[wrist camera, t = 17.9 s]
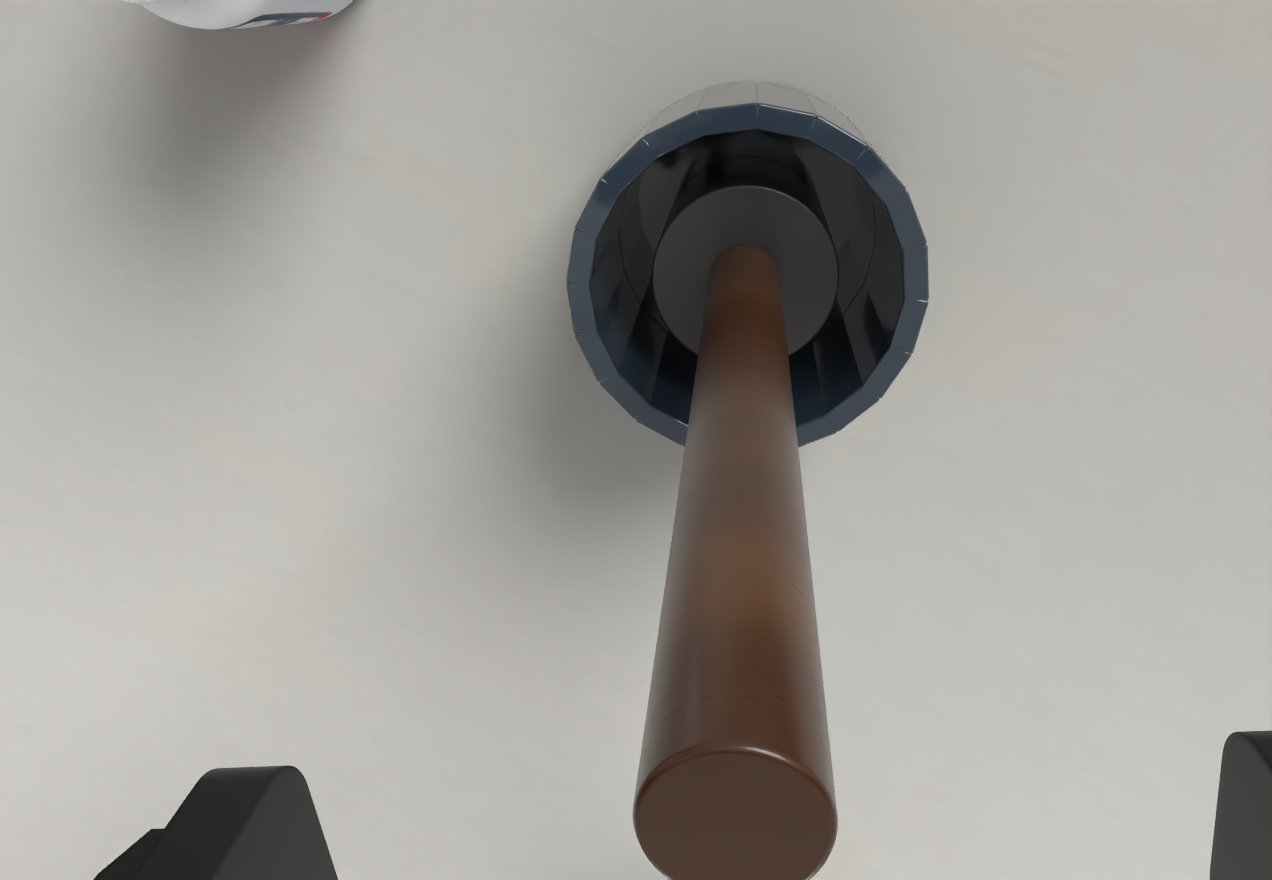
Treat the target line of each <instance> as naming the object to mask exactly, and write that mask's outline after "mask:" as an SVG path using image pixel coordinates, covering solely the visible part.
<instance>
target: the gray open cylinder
mask: <svg viewBox="0 0 1272 880" xmlns="http://www.w3.org/2000/svg"><path fill="white" fill-rule="evenodd" d="M744 156H752V157H761V158H766V159H770V160H773V161H776V162H779V163H781V164H783V165H785V166H787V167H789V168H790V169H792V170H793V171H794V172H796V173H797V174H799V175H800V176H801V177H802V178H803V179H804V180H805V181H806V182H807V183H808V185H809V186H810V187H811V188H812V190H813V191H814V193H815V195H816V196H817V198H818V200H819V202H820V205H821V207H822V210H823V213H824V216H825V218H826V221H827V224H828V227H829V230H830V233H831V236H832V239H833V242H834V245H835V249H836V252H837V256H838V263H839V286H838V293H837V297H836V300H835V304H834V306H833V309H832V311H831V313H830V315H829V317H828V319H827V321H826V322H825V324H824V326H823V327H822V328H821V330H820V331H819V332H818V333H817V335H816V336H815V337H814V338H813V339H812V340H811V341H810V342H809V343H808V344H807V345H805V346H804V347H803V348H801V349H800V350H799V351H797V352H795V353H794V354H792V355H790V356H789V367H790V376H791V386H792V395H793V404H794V414H795V423H796V433H797V442H798V447H801V446H803V445H806V444H809V443H811V442H814V441H816V440H819V439H822V438H824V437H827V436H830V435H832V434H835V433H836V431H840V430H841V429H843V428H844V427H845V426H846V425H848V424H849V423H850V422H852V421H853V420H854V419H855V418H857V417H858V416H859V415H861V414H862V413H863V412H865V411H866V410H867V409H868V408H870V407H871V406H872V405H874V404H875V403H876V402H878V401H879V398H882V397H883V395H884V394H885V392H886V391H887V390H888V388H889V387H890V385H891V384H892V382H893V381H894V380H895V378H896V377H897V375H898V374H899V372H900V371H901V370H902V368H903V367H904V365H905V364H906V363H907V361H908V360H909V358H910V357H911V354H912V353H913V351H914V348H915V344H916V341H917V338H918V335H919V332H920V328H921V325H922V322H923V319H924V315H925V312H926V309H927V306H928V299H929V281H928V247H927V245H926V238H925V236H924V233H923V230H922V228H921V225H920V222H919V220H918V217H917V214H916V212H915V209H914V206H913V204H912V201H911V198H910V196H909V193H908V192H907V190H906V188H905V186H904V185H903V184H902V183H901V181H900V180H899V179H898V178H897V176H896V175H895V174H894V173H893V172H892V170H891V169H890V168H889V167H888V165H887V164H886V163H885V162H884V160H883V159H882V158H881V157H880V155H879V154H878V153H877V152H876V150H875V149H874V148H873V147H872V146H871V145H870V143H869V142H868V141H867V140H866V139H865V137H864V136H863V135H862V134H861V133H860V131H859V130H858V129H857V128H856V127H855V126H854V124H853V123H852V122H851V121H850V120H849V118H847V117H846V116H845V115H844V114H842V113H840V112H839V111H837V110H836V109H834V108H833V107H832V106H830V105H829V104H828V103H826V102H824V101H822V100H820V99H818V98H817V97H815V96H813V95H811V94H809V93H806V92H803V91H801V90H798V89H795V88H792V87H789V86H784V85H779V84H775V83H767V82H753V81H750V82H734V83H728V84H723V85H718V86H713V87H710V88H707V89H704V90H701V91H698V92H696V93H693V94H691V95H689V96H687V97H685V98H683V99H681V100H679V101H677V102H675V103H674V104H672V105H671V106H669V107H667V108H665V109H664V110H663V111H661V112H660V113H659V114H658V115H657V116H656V117H655V118H654V119H653V120H652V121H651V122H649V123H648V124H647V125H646V126H645V127H644V128H643V129H642V131H641V132H640V133H638V134H637V135H636V136H635V137H634V138H633V139H632V140H631V141H630V142H629V144H628V145H627V146H626V147H625V148H624V150H623V151H622V152H621V153H620V155H619V156H618V157H617V158H616V159H615V161H614V162H613V163H612V164H611V166H610V167H609V168H608V169H607V170H606V172H605V173H604V174H603V175H602V177H601V178H600V179H599V181H598V183H597V185H596V187H595V189H594V191H593V193H592V195H591V197H590V199H589V201H588V203H587V205H586V206H585V208H584V210H583V212H582V214H581V216H580V218H579V220H578V222H577V224H576V226H575V230H574V234H573V240H572V247H571V253H570V259H569V266H568V272H567V278H566V281H567V285H566V286H567V292H568V299H569V305H570V311H571V317H572V323H573V329H574V334H575V335H576V336H575V337H576V340H577V342H578V344H579V346H580V348H581V350H582V351H583V353H584V355H585V357H586V359H587V361H588V363H589V365H590V367H591V369H592V371H593V373H594V375H595V377H596V379H597V381H598V382H600V384H601V386H602V387H603V388H604V389H605V390H606V391H607V392H608V393H609V394H610V395H611V396H612V397H613V398H614V399H615V400H616V401H617V402H618V403H619V404H620V405H621V406H622V407H623V408H624V409H625V410H626V411H627V412H628V413H629V414H630V415H631V416H632V417H633V418H634V419H636V421H637V422H639V423H641V424H643V425H645V426H647V427H648V428H650V429H652V430H654V431H656V432H658V433H659V434H661V435H663V436H665V437H667V438H669V439H671V440H672V441H674V442H676V443H678V444H680V445H683V446H685V444H686V437H687V430H688V423H689V416H690V409H691V402H692V395H693V388H694V381H695V374H696V367H697V360H698V355H696V354H695V353H693V352H692V351H690V350H689V349H687V348H686V347H685V346H684V345H682V344H681V343H680V342H679V341H678V340H677V339H676V338H675V337H674V336H673V334H672V333H671V332H670V331H669V329H668V328H667V326H666V325H665V323H664V322H663V320H662V318H661V316H660V314H659V312H658V309H657V306H656V303H655V300H654V295H653V290H652V264H653V259H654V255H655V251H656V248H657V245H658V243H659V240H660V237H661V234H662V232H663V229H664V226H665V224H666V221H667V218H668V216H669V213H670V210H671V207H672V205H673V203H674V201H675V199H676V197H677V196H678V194H679V193H680V191H681V190H682V188H683V187H684V186H685V185H686V184H687V183H688V181H689V180H690V179H692V178H693V177H694V176H695V175H696V174H697V173H699V172H700V171H702V170H703V169H705V168H706V167H708V166H710V165H712V164H714V163H716V162H719V161H722V160H725V159H729V158H734V157H744Z"/></svg>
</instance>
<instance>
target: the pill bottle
mask: <svg viewBox="0 0 1272 880" xmlns="http://www.w3.org/2000/svg"><path fill="white" fill-rule="evenodd" d="M120 1H125V2H131V3H139V4H140V5H142V6H143V7H144V8H146V9H147V10H149V11H150V12H152V13H154V14H156V15H158V16H160V17H162V18H164V19H166V20H168V21H171V22H174V23H176V24H180V25H183V26H187V27H192V28H200V29H213V30H221V29H235V28H251V27H264V26H279V25H290V24H303V23H309V22H315V21H319V20H322V19H325V18H328V17H330V16H332V15H334V14H336V13H338V12H340V11H341V10H343V9H344V8H345V7H347V6H348V5H349V4H350V3H351V2H352V1H353V0H120Z"/></svg>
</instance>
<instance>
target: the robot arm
mask: <svg viewBox="0 0 1272 880" xmlns="http://www.w3.org/2000/svg"><path fill="white" fill-rule="evenodd" d="M94 880H338V878H337V875H336V872H335V868H334V865H333V862H332V859H331V856H330V853H329V850H328V847H327V844H326V841H325V838H324V834H323V831H322V828H321V825H320V822H319V819H318V816H317V813H316V810H315V807H314V804H313V800H312V797H311V794H310V791H309V788H308V785H307V783H306V780H305V778H304V776H303V775H302V773H301V772H300V771H299V770H298V769H297V768H295V767H294V766H267V767H242V768H217V769H212V770H210V771H209V772H207V773H206V774H204V775H203V776H202V777H201V778H200V779H199V781H198V782H197V783H196V784H195V786H194V787H193V789H192V790H191V792H190V793H189V794H188V796H187V797H186V799H185V800H184V802H183V803H182V804H181V806H180V807H179V809H178V810H177V812H176V813H175V814H174V816H173V817H172V819H171V820H170V822H169V823H168V824H167V826H166V827H165V829H151V830H150V831H149V832H147V833H146V834H145V835H144V836H143V837H141V838H140V839H139V840H138V841H137V842H136V843H134V844H133V845H132V846H131V847H130V848H128V849H127V850H126V851H125V852H124V853H122V854H121V855H120V856H119V857H118V858H116V859H115V860H114V861H113V862H112V863H110V864H109V865H108V866H107V867H106V868H104V869H103V870H102V871H101V872H100V873H98V875H97V876H96V877H95V879H94ZM1210 880H1272V731H1249V732H1235V733H1232V734H1231V735H1230V736H1229V737H1228V738H1227V740H1226V742H1225V745H1224V749H1223V755H1222V764H1221V773H1220V782H1219V792H1218V801H1217V810H1216V820H1215V829H1214V838H1213V847H1212V857H1211V866H1210Z"/></svg>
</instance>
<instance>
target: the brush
mask: <svg viewBox="0 0 1272 880" xmlns="http://www.w3.org/2000/svg"><path fill="white" fill-rule="evenodd" d="M838 286H839V263H838V256H837V252H836V249H835V245H834V242H833V239H832V236H831V233H830V230H829V227H828V224H827V221H826V218H825V216H824V213H823V210H822V207H821V205H820V202H819V200H818V198H817V196H816V195H815V193H814V191H813V190H812V188H811V187H810V186H809V185H808V183H807V182H806V181H805V180H804V179H803V178H802V177H801V176H800V175H799V174H797V173H796V172H794V171H793V170H792V169H790V168H789V167H787V166H785V165H783V164H781V163H779V162H776V161H773V160H770V159H766V158H761V157H752V156H744V157H734V158H729V159H725V160H722V161H719V162H716V163H714V164H712V165H710V166H708V167H706V168H705V169H703V170H702V171H700V172H699V173H697V174H696V175H695V176H694V177H693V178H692V179H690V180H689V181H688V183H687V184H686V185H685V186H684V187H683V188H682V190H681V191H680V193H679V194H678V196H677V197H676V199H675V201H674V203H673V205H672V207H671V210H670V213H669V216H668V218H667V221H666V224H665V226H664V229H663V232H662V234H661V237H660V240H659V243H658V245H657V248H656V251H655V255H654V259H653V264H652V290H653V295H654V300H655V303H656V306H657V309H658V312H659V314H660V316H661V318H662V320H663V322H664V323H665V325H666V326H667V328H668V329H669V331H670V332H671V333H672V334H673V336H674V337H675V338H676V339H677V340H678V341H679V342H680V343H681V344H682V345H684V346H685V347H686V348H687V349H689V350H690V351H692V352H693V353H695V354H696V355H698V360H697V367H696V374H695V381H694V388H693V395H692V402H691V409H690V416H689V423H688V430H687V437H686V444H685V451H684V457H683V464H682V471H681V478H680V485H679V492H678V499H677V506H676V513H675V520H674V527H673V534H672V541H671V548H670V555H669V562H668V569H667V576H666V583H665V590H664V597H663V604H662V611H661V618H660V624H659V631H658V638H657V645H656V652H655V659H654V666H653V673H652V680H651V687H650V694H649V701H648V708H647V715H646V722H645V729H644V736H643V743H642V750H641V757H640V764H639V771H638V778H637V785H636V791H635V798H634V806H633V823H634V828H635V832H636V836H637V838H638V840H639V843H640V845H641V847H642V850H643V851H644V853H645V854H646V856H647V858H648V859H649V860H650V862H651V863H652V864H653V865H654V866H655V867H656V868H657V869H658V870H659V871H660V872H661V873H662V874H663V875H664V876H666V877H667V878H668V879H670V880H809V879H811V878H812V877H813V876H814V875H815V874H816V873H817V872H818V871H819V870H820V868H821V867H822V866H823V865H824V863H825V862H826V860H827V858H828V856H829V855H830V853H831V851H832V848H833V846H834V843H835V840H836V835H837V830H838V818H837V809H836V799H835V790H834V781H833V771H832V762H831V752H830V743H829V734H828V724H827V715H826V705H825V696H824V687H823V677H822V668H821V658H820V649H819V640H818V630H817V621H816V611H815V602H814V593H813V583H812V574H811V564H810V555H809V546H808V536H807V527H806V517H805V508H804V499H803V489H802V480H801V470H800V461H799V451H798V442H797V433H796V423H795V414H794V404H793V395H792V386H791V376H790V367H789V356H790V355H792V354H794V353H795V352H797V351H799V350H800V349H801V348H803V347H804V346H805V345H807V344H808V343H809V342H810V341H811V340H812V339H813V338H814V337H815V336H816V335H817V333H818V332H819V331H820V330H821V328H822V327H823V326H824V324H825V322H826V321H827V319H828V317H829V315H830V313H831V311H832V309H833V306H834V304H835V300H836V297H837V293H838Z"/></svg>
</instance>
